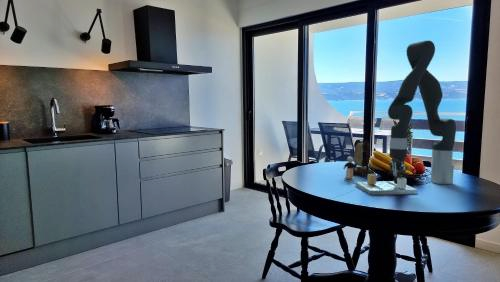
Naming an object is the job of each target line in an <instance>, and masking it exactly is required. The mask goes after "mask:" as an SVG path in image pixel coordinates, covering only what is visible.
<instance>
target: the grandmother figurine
mask: <svg viewBox="0 0 500 282" xmlns="http://www.w3.org/2000/svg"><path fill="white" fill-rule="evenodd" d="M346 159H347V162H346V163H345V164H344V165H343V170H346V173H345V177H344V180H349V181H353V180H354V173H353V168H355V170H357V167H358V165H357V166H356V165H355V164H354V163H353V162H354V157H352V156H348V157H347V158H346Z"/></svg>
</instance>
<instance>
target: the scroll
mask: <svg viewBox="0 0 500 282" xmlns="http://www.w3.org/2000/svg"><path fill="white" fill-rule="evenodd" d="M353 144H354V145H353V146H354V152H353V153H354V157H353V162H354V163H353V164H355V165H356V166H357V170H355V168H353V174H356V175H359V176H360V177H362V176H363V175H368V174H375V173H374V172H373V171H372V170H370V169H369V168H370V166H369V167H368V163H369V159H370V158H369V157H370V156H371V153H370V149H371V143H370V141H368V140H364V141H363V142H362V140H360V139H357V140H356V141H355V142H354V143H353ZM363 155H364V156H365V157H363ZM369 164H370V163H369Z"/></svg>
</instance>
